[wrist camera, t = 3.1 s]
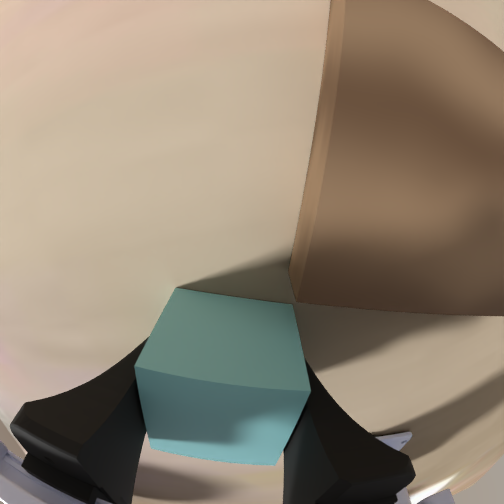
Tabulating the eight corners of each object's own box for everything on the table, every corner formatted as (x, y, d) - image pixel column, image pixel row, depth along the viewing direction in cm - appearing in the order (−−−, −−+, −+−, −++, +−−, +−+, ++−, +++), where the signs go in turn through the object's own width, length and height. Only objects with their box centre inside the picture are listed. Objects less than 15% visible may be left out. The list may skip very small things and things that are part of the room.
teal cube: (270, 384, 13) (274, 465, 9) (175, 371, 13) (151, 448, 9) (292, 304, 12) (311, 390, 7) (175, 287, 12) (134, 365, 7)
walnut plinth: (483, 295, 12) (508, 316, 9) (288, 271, 11) (296, 301, 9) (519, 97, 8) (548, 97, 5) (331, -4, 7) (346, -33, 5)
